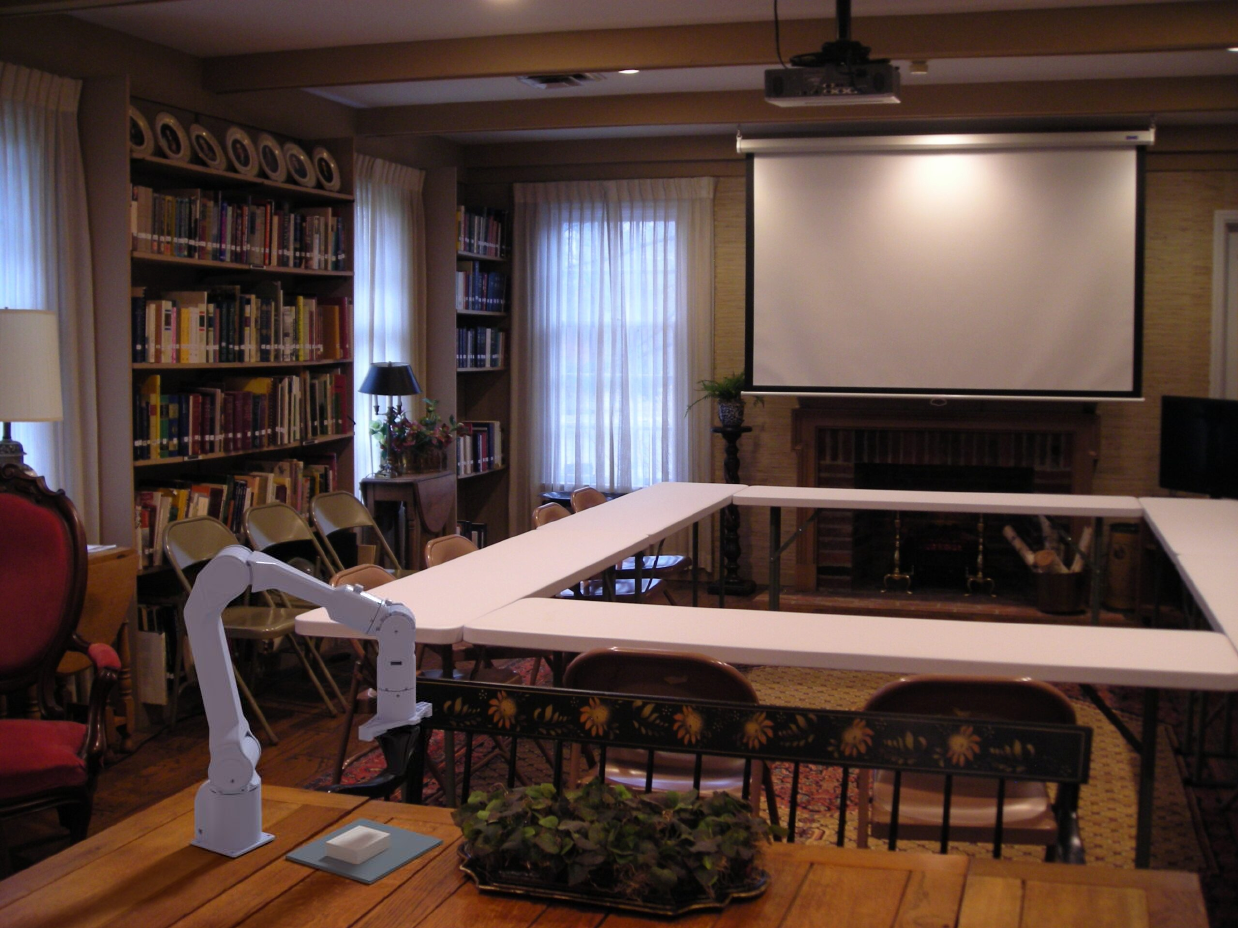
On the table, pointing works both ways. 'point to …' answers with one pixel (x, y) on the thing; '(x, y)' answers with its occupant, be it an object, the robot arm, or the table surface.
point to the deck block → (358, 844)
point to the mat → (400, 853)
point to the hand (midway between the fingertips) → (396, 773)
